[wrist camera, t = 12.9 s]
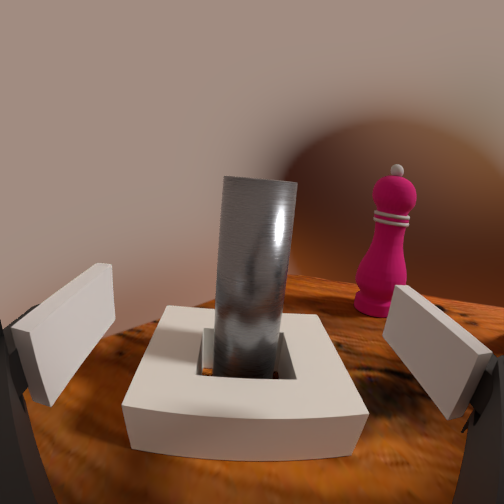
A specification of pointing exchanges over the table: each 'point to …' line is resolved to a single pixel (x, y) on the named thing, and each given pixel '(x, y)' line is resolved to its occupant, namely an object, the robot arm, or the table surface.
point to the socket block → (242, 396)
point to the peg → (251, 275)
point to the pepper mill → (385, 245)
